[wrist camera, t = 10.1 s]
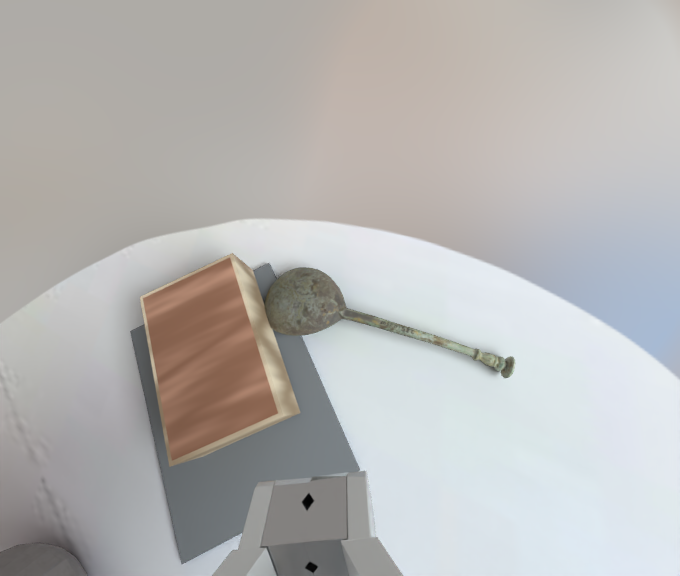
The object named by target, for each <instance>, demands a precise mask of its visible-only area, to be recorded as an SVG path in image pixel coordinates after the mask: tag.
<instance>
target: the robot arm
mask: <svg viewBox="0 0 680 576" xmlns="http://www.w3.org/2000/svg"><path fill="white" fill-rule="evenodd" d="M212 576H403V575H402V573H401V572H400V570H399V569H398V567H397V566H396V564H395V563H394V561H393V560H392V558H391V557H390V555H389V554H388V552H387V551H386V549H385V548H384V546H383V545H382V543H381V542H380V540H379V539H378V537H376V530H375V520H374V513H373V506H372V499H371V493H370V487H369V481H368V476H367V471H360V472H351V473H348V472H346V473H338V474H330V475H322V476H314V477H312V478H301V479H288V480H275V481H265V482H258V484H257V486H256V487H255V489H254V493H253V497H252V500H251V504H250V508H249V511H248V515H247V519H246V522H245V526H244V529H243V533H242V537H241V540H240V544H239V548H238V550H232V551H231V553H230V554H229V555H228V556H227V558H226V559H225V560H224V561H223V563H222V564H221V565H220V566H219V568H218V569H217V570H216V571H215V573H214V574H213V575H212Z"/></svg>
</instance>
